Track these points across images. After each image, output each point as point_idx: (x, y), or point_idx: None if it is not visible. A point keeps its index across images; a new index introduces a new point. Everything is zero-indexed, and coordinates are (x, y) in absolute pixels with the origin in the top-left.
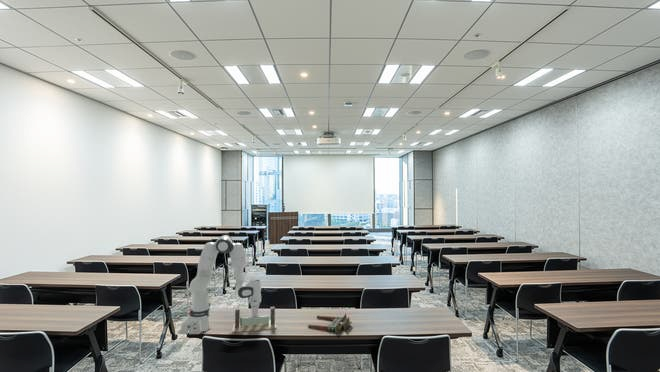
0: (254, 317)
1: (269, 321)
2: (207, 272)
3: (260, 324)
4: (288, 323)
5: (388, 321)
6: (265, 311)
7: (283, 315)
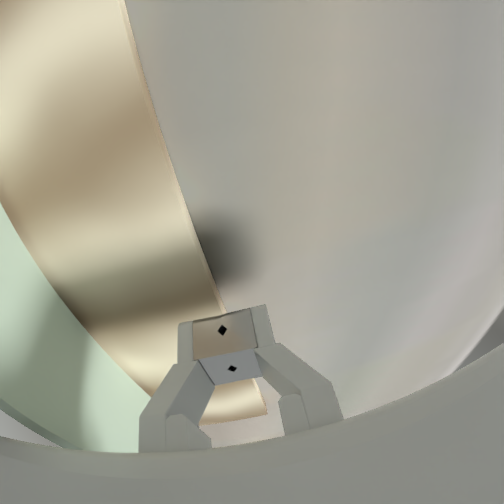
0: (24, 424)
1: (218, 400)
2: None
3: (115, 359)
4: (216, 443)
5: None
6: (498, 274)
7: (362, 401)
